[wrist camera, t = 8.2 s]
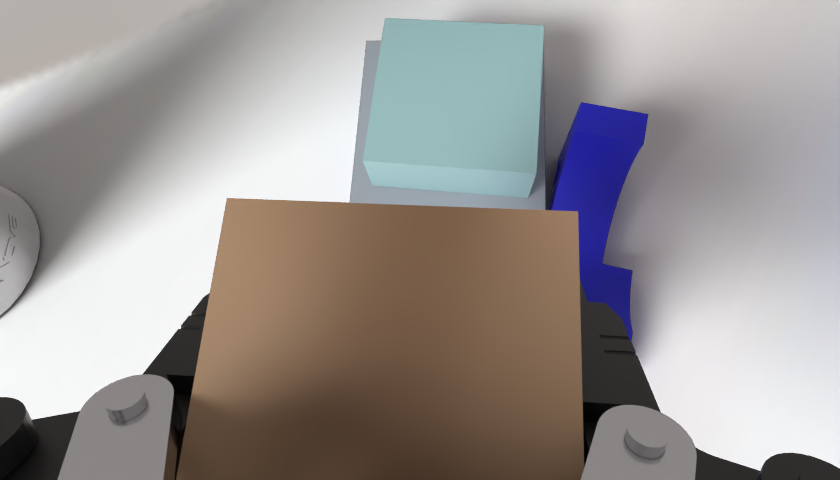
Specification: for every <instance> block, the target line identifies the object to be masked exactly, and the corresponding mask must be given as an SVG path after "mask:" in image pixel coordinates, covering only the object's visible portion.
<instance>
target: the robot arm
mask: <svg viewBox="0 0 840 480" xmlns="http://www.w3.org/2000/svg"><path fill="white" fill-rule="evenodd" d="M39 248H40V232H39V227H38V223H37V220H36V216H35V214H34V213H33V211H32V209H31V208H30V206H29V204H28V203H27V202H25V201H24V200H23V199H22V198H21V197H20V196H19V195H17V194H16V193H14V192H12V191H10V190H8V189H6V188H4V187H2V186H0V315H1V314H2V313H4V312H5V311H6V310H7V309H8V308H9V307H10V306H11V305H12V304H13V303H14V302H15V300H16V299H17V298H18V297H19V296H20V295H21V293H22V292H23V290H24V288H25V287H26V285H27V283H28V282H29V280H30V278H31V276H32V274H33V271H34V268H35V266H36V263H37V259H38V254H39ZM209 295H210V293H209V294H208V295H206V296H205V297H204V298H203V299H202V300H201V301H200V303H199V304H198V305H197V306H196V308H195V309H194V310H193V311H192V315H191V316H188V318H187V319H186V320H185V322H184V323H183V324H182V325H181V329H178V330H177V332H176V333H175V334H174V335H173V337H172V338H171V339H170V340H169V342H168V343H167V344H166V346H165V347H164V348H163V349H162V351H161V352H160V353H159V354H158V356H157V357H156V358H155V359H154V361H153V362H152V363H151V364H150V366H149V367H148V368H147V369H146V371H145V372H144V373H143V375H135V376H131V377H127V378H124V379H121V380H118V381H116V382H113V383H111V384H109V385H108V386H106V387H104V388H102V389H101V390H99V391H98V392H97V393H95V394H94V395H93V396H92V397H91V398H90V399H89V400H88V401H87V402H86V403H85V404H84V406H83V407H82V409H81V411H79V412H74V413H68V414H62V415H57V416H51V417H45V418H40V419H34V420H31V418H30V416H29V414H28V412H27V410H26V408H25V406H24V405H23V403H22V402H20V401H19V400H17V399H14V398H8V397H0V480H176V477H177V471H178V466H179V460H180V455H181V449H182V444H183V438H184V433H185V427H186V422H187V416H188V411H189V405H190V400H191V394H192V389H193V383H194V378H195V372H196V367H197V361H198V355H199V350H200V344H201V339H202V333H203V328H204V322H205V317H206V311H207V306H208V300H209ZM580 313H581V355H582V396H583V438H584V470H583V474H582V477H581V480H840V469H839V468H837V467H836V466H834V465H832V464H830V463H827V462H825V461H823V460H820V459H818V458H815V457H812V456H808V455H803V454H797V453H782V454H777V455H774V456H772V457H770V458H769V459H768V460H766V462H765V463H764V465H763V466H762V469H761V471H758V470H755V469H752V468H749V467H746V466H743V465H740V464H736V463H733V462H730V461H727V460H724V459H721V458H718V457H715V456H712V455H710V454H707V453H705V452H703V451H701V450H699V449H697V448H695V445H694V443H693V441H692V439H691V438H690V436H689V435H688V433H687V432H686V431H685V430H684V429H683V428H682V427H681V426H680V425H679V424H678V423H677V422H675V421H674V420H673V419H671V418H670V417H668V416H666V415H665V414H663V413H661V412H660V410H659V407H658V405H657V402H656V400H655V398H654V395H653V393H652V390H651V388H650V385H649V383H648V381H647V378H646V376H645V373H644V371H643V369H642V366H641V364H640V361H639V359H638V357H637V356H636V355H635V349H634V347H633V345H632V342H631V340H629V335H628V332H627V330H626V328H625V325H624V323H623V320H622V318H621V317H619V316H618V315H617V314H616V313H615V312H614V311H613V310H612V309H611V308H610V307H609V306H608V305H607V304H606V303H599V302H588V301H587V298H586V295H585V292H584V289H583V286H582V283H581V280H580Z"/></svg>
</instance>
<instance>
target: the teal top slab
mask: <svg viewBox="0 0 840 480" xmlns="http://www.w3.org/2000/svg"><path fill="white" fill-rule="evenodd" d="M543 40H544V25H523V24H502V23H480V22H459V21H438V20H417V19H396V18H385V22H384V28H383V34H382V41H381V47H380V53H379V60H378V66H377V73H376V79H375V85H374V92H373V98H372V104H371V111H370V117H369V124H368V130H367V136H366V143H365V149H364V155H363V163H364V165H365V168H366V170H367V173H368V176H369V178H370V181H371V183H372V186H380V187H393V188H406V189H419V190H431V191H444V192H457V193H469V194H482V195H495V196H507V197H520V198H528V196H529V193H530V190H531V188H532V185H533V182H534V179H535V176H536V173H537V154H538V135H539V116H540V97H541V78H542V59H543Z"/></svg>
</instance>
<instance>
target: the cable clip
mask: <svg viewBox="0 0 840 480" xmlns="http://www.w3.org/2000/svg"><path fill="white" fill-rule="evenodd" d="M647 118H648V114H644V113H639V112H633V111H627V110H622V109H616V108H610V107H605V106H599V105H593V104H588V103H582V102H581V104H580V107H579V109H578V112H577V114H576V117H575V119H574V121H573V124H572V126H571V129H570V131H569V134H568V136H567V139H566V141H565V144H564V146H563V149H562V151H561V154H560V156H559V159H558V164H557V169H556V174H555V179H554V184H553V189H552V194H551V199H550V204H549V209H548V210H555V211H578V230H579V272H580V280H581V283H582V286H583V289H584V292H585V295H586V298H587V301H588V302H599V303H606V304H607V305H608V306H609V307H610V308H611V309H612V310H613V311H614V312H615V313H616V314H617V315H618V316H619V317H621V318H622V320H623V323H624V325H625V328H626V330H627V332H628V335H629V340H632V333H633V332H632V327H631V320H630V289H631V278H632V270H628V269H623V268H618V267H614V266H609V265H605V264H602V261H603V256H604V251H605V246H606V241H607V237H608V232H609V228H610V225H611V221H612V217H613V214H614V210H615V207H616V204H617V201H618V198H619V195H620V192H621V189H622V186H623V184H624V181H625V179H626V176H627V174H628V172H629V169H630V167H631V165H632V163H633V161H634V159H635V157H636V155H637V153H638V152H639V150H640V148H641V147H642V145H643V144H644V138H645V132H646V125H647Z"/></svg>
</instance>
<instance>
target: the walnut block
mask: <svg viewBox="0 0 840 480" xmlns="http://www.w3.org/2000/svg"><path fill="white" fill-rule="evenodd" d="M583 470H584V438H583V396H582V355H581V313H580V272H579V230H578V211H555V210H528V209H502V208H475V207H448V206H422V205H395V204H369V203H342V202H315V201H289V200H262V199H235V198H227V201H226V206H225V212H224V217H223V223H222V229H221V234H220V240H219V245H218V251H217V256H216V262H215V267H214V273H213V278H212V284H211V289H210V295H209V300H208V306H207V311H206V317H205V322H204V328H203V333H202V339H201V344H200V350H199V355H198V361H197V367H196V372H195V378H194V383H193V389H192V394H191V400H190V405H189V411H188V416H187V422H186V427H185V433H184V438H183V444H182V449H181V455H180V460H179V466H178V471H177V477H176V480H581V477H582V474H583Z"/></svg>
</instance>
